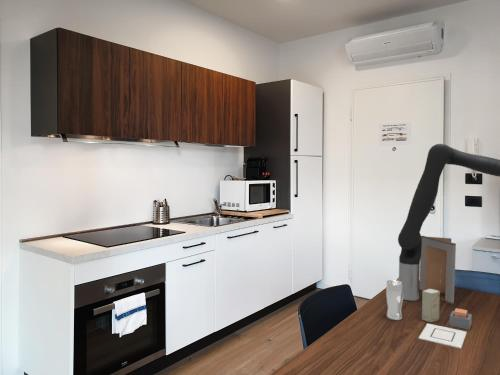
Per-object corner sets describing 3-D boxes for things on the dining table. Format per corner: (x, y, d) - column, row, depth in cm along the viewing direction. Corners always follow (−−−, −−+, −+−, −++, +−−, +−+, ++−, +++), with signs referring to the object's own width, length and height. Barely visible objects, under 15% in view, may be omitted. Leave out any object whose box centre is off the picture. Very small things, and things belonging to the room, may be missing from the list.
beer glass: (384, 318, 167) (385, 283, 166) (386, 313, 173) (387, 279, 172) (401, 321, 163) (402, 285, 162) (404, 315, 169) (404, 281, 169)
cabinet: (419, 290, 204) (420, 235, 202) (434, 288, 207) (436, 234, 205) (451, 303, 184) (453, 243, 182) (467, 301, 187) (469, 242, 185)
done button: (454, 317, 159) (454, 311, 159) (455, 314, 163) (455, 308, 163) (465, 319, 157) (466, 313, 157) (467, 316, 160) (467, 310, 160)
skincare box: (431, 323, 162) (432, 293, 161) (421, 319, 165) (421, 290, 165) (439, 319, 166) (440, 290, 165) (429, 316, 169) (430, 288, 168)
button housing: (449, 325, 159) (449, 315, 159) (452, 320, 165) (452, 310, 165) (469, 329, 155) (469, 319, 155) (471, 324, 161) (471, 314, 161)
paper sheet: (418, 338, 147) (418, 337, 147) (427, 324, 161) (427, 323, 161) (461, 348, 140) (461, 347, 139) (466, 332, 153) (466, 331, 153)
